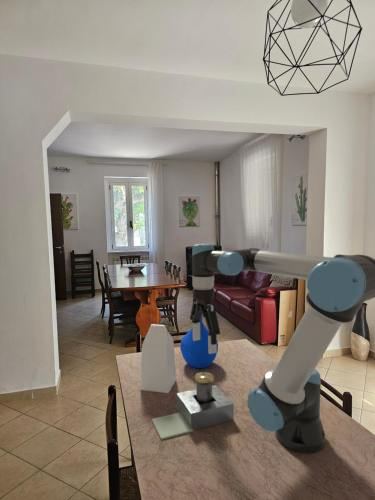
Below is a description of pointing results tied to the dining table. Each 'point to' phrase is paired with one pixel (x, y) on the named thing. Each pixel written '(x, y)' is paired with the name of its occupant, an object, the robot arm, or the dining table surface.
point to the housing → (205, 409)
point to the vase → (197, 348)
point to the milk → (158, 360)
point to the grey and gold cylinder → (204, 387)
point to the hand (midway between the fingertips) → (204, 346)
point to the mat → (171, 425)
